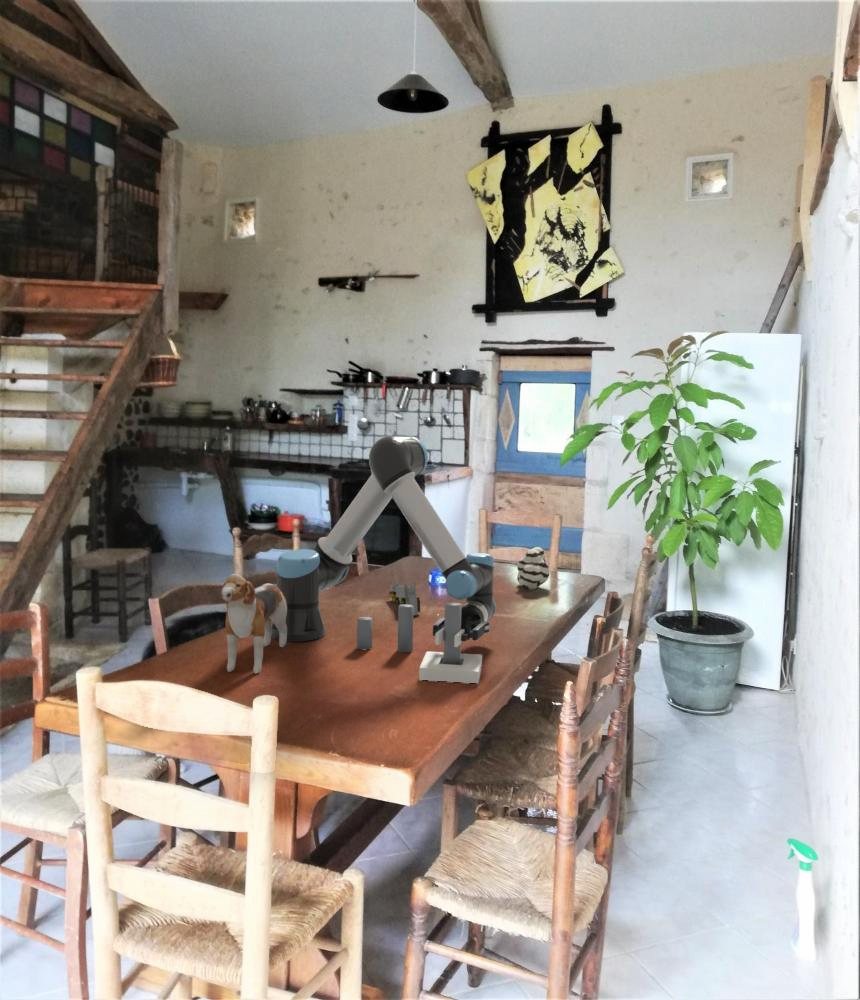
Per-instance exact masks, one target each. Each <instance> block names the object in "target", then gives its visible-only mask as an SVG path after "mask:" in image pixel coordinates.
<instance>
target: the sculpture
mask: <svg viewBox="0 0 860 1000" xmlns="http://www.w3.org/2000/svg"><path fill="white" fill-rule="evenodd" d="M516 567H517V571H518V573H517V579H516V580H517V582H518V584H519V587H520V588H522V589H524V590H535V589H536V588H538V587H540V586H541V585H543V584H545V583H546V582H547V581H548V580H549V577H550V573H551V572H550V567H549V564H548V562H547V561H546V559H545V551H544V548H542V547H540V546H535V547H533V548H531V549H529V550H528V551H526V553H525V555H524V556H523V557H522V558H521V559H519V560H518V562H517V566H516Z"/></svg>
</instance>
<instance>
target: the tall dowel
mask: <svg viewBox="0 0 860 1000" xmlns="http://www.w3.org/2000/svg"><path fill="white" fill-rule="evenodd" d="M462 606H463V604H462V603H459V602H445V604H444V618H445V624H444V640H443V652H444V659H443V664H451V665H460V653H461V644H460V645H459V646H458V647H454V637H455V635H456V634H457V633H458V632H459V631H460V630H461V609H462Z"/></svg>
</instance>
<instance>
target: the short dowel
mask: <svg viewBox="0 0 860 1000" xmlns="http://www.w3.org/2000/svg"><path fill="white" fill-rule="evenodd" d="M356 621H357V627H356V649H357V648H358V649H357V650H359V649H370V648H372V649H373V618H372V617H370V616H360V617H357V619H356ZM370 650H371V649H370Z"/></svg>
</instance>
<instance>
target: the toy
mask: <svg viewBox="0 0 860 1000" xmlns="http://www.w3.org/2000/svg"><path fill="white" fill-rule="evenodd" d="M410 584H411V585H408V583H402V585H401V584H400V582H394V583H392V585H390V591H389V593H388V594H389V598H391V600H392V601H393V600H394V601H396V602H395V603H399V605H404V604H407V605H413V606H414V612H413V616H418V613H420V612H421V600H420V597H419V596H417V593H416V589H417V588H416V583H415V582H411V583H410Z"/></svg>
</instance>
